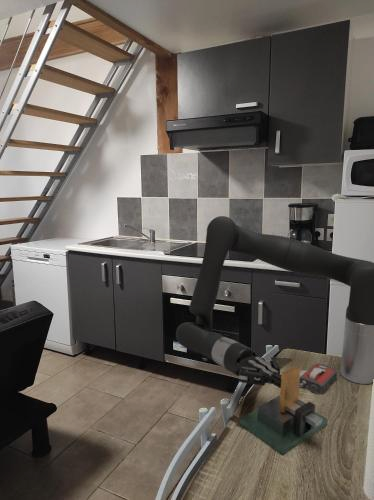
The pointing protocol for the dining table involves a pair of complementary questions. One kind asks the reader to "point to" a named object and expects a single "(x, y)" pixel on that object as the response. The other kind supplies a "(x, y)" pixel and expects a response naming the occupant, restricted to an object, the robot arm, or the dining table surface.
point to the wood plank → (294, 395)
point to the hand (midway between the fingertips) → (287, 385)
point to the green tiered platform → (281, 424)
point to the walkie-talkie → (318, 378)
